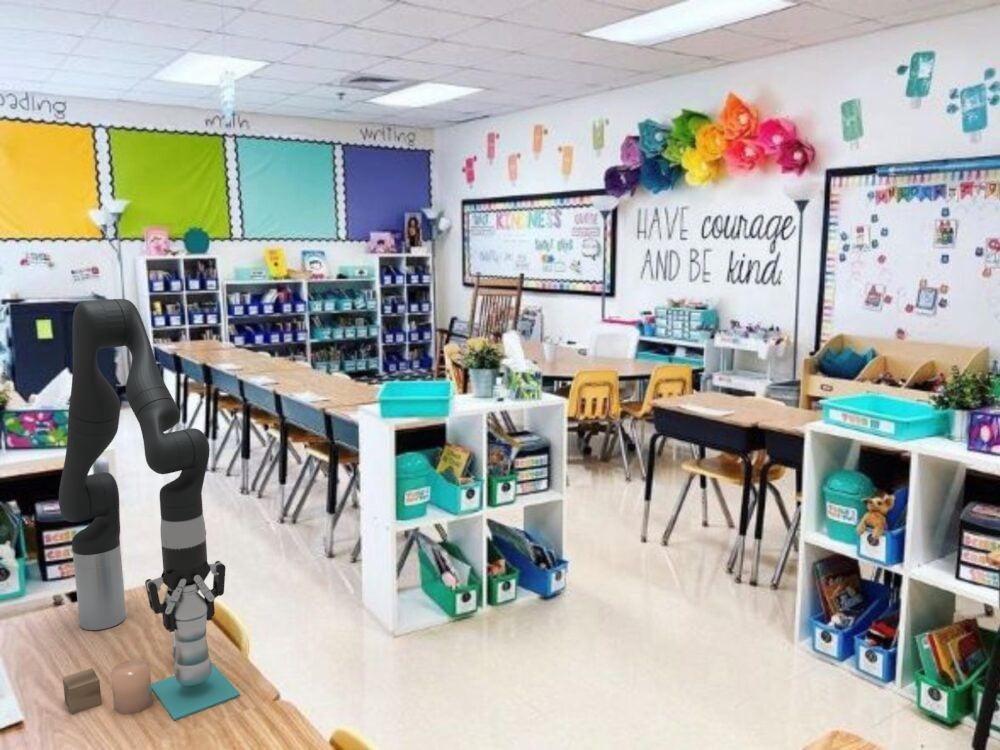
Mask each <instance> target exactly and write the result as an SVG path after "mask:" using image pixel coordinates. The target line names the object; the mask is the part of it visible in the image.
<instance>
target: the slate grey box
mask: <svg viewBox="0 0 1000 750" xmlns="http://www.w3.org/2000/svg"><path fill="white" fill-rule="evenodd" d="M172 634H173V635H172V636H173V637H172V638H173V639H172V640H173V646H172V647H173V657H174V658H173V659H174V662H175V660H176V642H175V635H174V632H172Z"/></svg>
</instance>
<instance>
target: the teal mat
mask: <svg viewBox="0 0 1000 750" xmlns="http://www.w3.org/2000/svg"><path fill="white" fill-rule="evenodd" d="M211 664H212V671H211V675H210V677H209V679H208V680H207V681H206V682H205V683H203V684H201V685H198V686H194V687H185V686H182V685H180V684H179V683H178V682H177V681H176V678H175V675H172V676H170V677H167V678H164V679H161V680H158V681H155V682H151V686H152V693H154V694H155V696H156V697H157V699H158V701H160V703H161V704H162V706H163V708H165V710H166V712H167V713H168V714H169V716H170V717H171V718H172V720H173V722H176V721H177V720H180V719H184V718H185V717H188V716H192V715H194V714H196V713H199V712H201V711H202V712H203V711H204V710H207V709H210V708H213V707H215V706H218V705H220V704H223V703H226V702H229V701H231V700H234V699H237V698H239V697H241V693H240V692H239V690H237V688H236V687H235V686H234V685H233V684H232V683H231V682H230V681H229V680H228V679H227V677H226V675H224V674H223V673H222V672H221V670H219V669H218V667H217V666H216V665H215V664H214V663H213V662H211ZM238 696H239V697H238ZM236 697H237V698H236Z"/></svg>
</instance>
